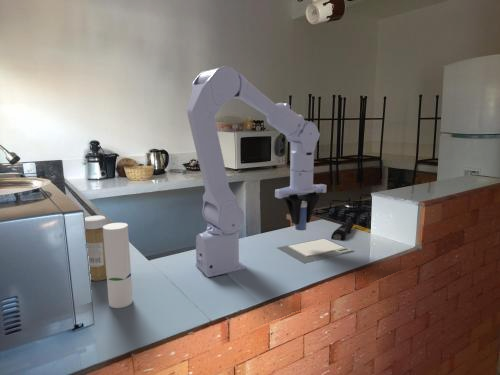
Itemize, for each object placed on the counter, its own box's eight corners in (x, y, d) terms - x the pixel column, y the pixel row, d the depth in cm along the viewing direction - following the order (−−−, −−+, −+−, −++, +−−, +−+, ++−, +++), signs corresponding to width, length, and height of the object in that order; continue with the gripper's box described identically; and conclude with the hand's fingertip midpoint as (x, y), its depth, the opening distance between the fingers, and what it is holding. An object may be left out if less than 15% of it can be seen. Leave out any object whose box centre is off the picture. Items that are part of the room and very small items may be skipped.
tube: (105, 302, 73) (98, 225, 70) (126, 294, 76) (120, 221, 73) (115, 310, 70) (109, 231, 67) (137, 302, 73) (132, 225, 70)
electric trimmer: (356, 229, 119) (356, 219, 118) (343, 243, 106) (343, 232, 105) (343, 227, 121) (344, 217, 120) (329, 241, 107) (330, 230, 107)
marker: (299, 231, 97) (299, 204, 95) (292, 228, 99) (293, 201, 98) (308, 229, 98) (309, 202, 97) (302, 226, 101) (302, 200, 99)
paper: (306, 256, 94) (306, 255, 94) (288, 246, 101) (288, 245, 101) (344, 248, 100) (344, 247, 100) (324, 239, 107) (324, 238, 106)
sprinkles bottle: (114, 274, 85) (110, 215, 83) (101, 282, 81) (96, 221, 78) (97, 271, 87) (92, 214, 84) (83, 280, 82) (77, 219, 80)
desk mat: (303, 264, 90) (303, 263, 90) (276, 249, 100) (276, 247, 100) (355, 252, 98) (355, 251, 98) (324, 239, 108) (324, 238, 108)
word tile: (340, 253, 96) (340, 252, 96) (333, 250, 98) (333, 249, 98) (352, 251, 98) (352, 249, 98) (345, 248, 100) (345, 246, 100)
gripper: (286, 174, 89) (285, 230, 92) (335, 169, 96) (333, 222, 98) (270, 170, 95) (270, 223, 98) (317, 166, 102) (315, 215, 104)
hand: (300, 222), depth 98 cm, fingers closed on marker, 3 cm apart
